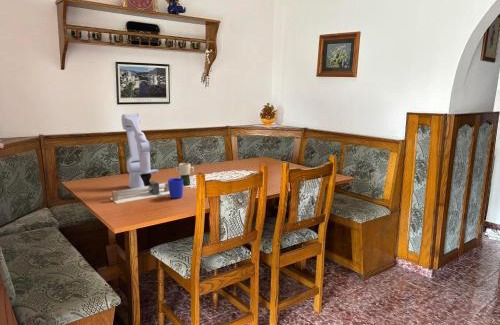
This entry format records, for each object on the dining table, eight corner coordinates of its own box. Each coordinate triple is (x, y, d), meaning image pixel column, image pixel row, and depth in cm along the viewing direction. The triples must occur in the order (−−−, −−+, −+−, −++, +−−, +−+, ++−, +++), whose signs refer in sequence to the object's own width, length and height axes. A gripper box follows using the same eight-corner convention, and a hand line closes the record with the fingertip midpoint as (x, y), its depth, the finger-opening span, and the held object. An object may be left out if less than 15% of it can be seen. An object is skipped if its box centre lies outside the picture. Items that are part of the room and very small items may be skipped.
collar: (148, 191, 229) (148, 181, 228) (153, 190, 231) (153, 180, 229) (154, 194, 223) (153, 184, 221) (159, 193, 224) (158, 183, 223)
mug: (183, 193, 229) (182, 176, 227) (184, 199, 217) (183, 181, 215) (168, 193, 227) (167, 176, 225) (168, 200, 215) (168, 182, 213)
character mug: (195, 183, 250) (194, 162, 248) (193, 186, 243) (192, 165, 241) (177, 183, 251) (177, 162, 248) (175, 186, 244) (174, 165, 241)
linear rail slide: (109, 198, 218) (108, 189, 217) (164, 189, 237) (163, 180, 236) (116, 203, 209) (116, 194, 208) (173, 193, 227) (172, 184, 226)
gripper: (135, 166, 217) (136, 190, 220) (160, 162, 225) (161, 186, 228) (130, 164, 222) (131, 187, 225) (155, 160, 231) (156, 183, 234)
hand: (146, 186), depth 227 cm, fingers closed
